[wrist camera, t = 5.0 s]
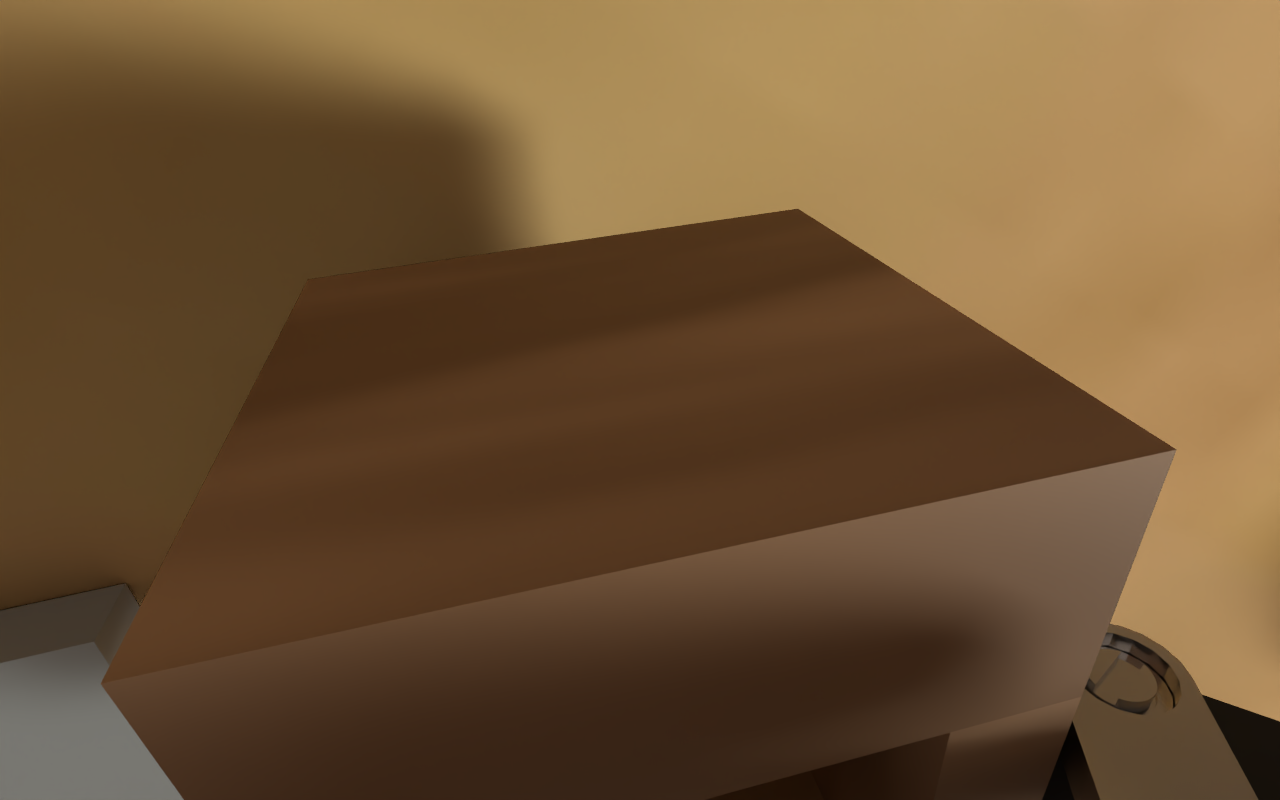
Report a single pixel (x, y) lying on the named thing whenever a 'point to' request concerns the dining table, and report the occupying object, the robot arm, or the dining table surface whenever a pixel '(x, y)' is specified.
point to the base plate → (70, 704)
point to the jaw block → (640, 538)
